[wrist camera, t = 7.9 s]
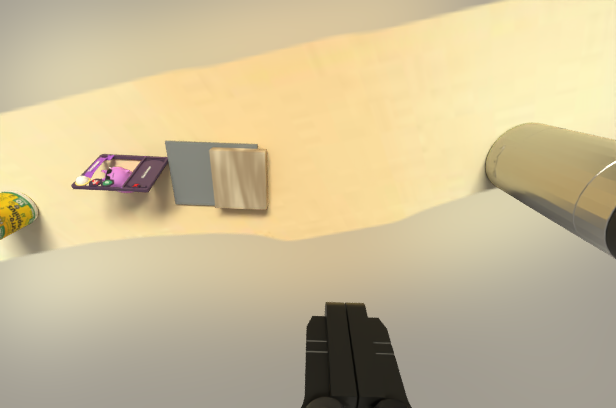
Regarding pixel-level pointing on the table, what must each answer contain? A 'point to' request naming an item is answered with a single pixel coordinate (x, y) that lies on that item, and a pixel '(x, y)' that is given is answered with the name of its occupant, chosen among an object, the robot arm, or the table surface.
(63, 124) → the table surface
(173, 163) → the felt mat
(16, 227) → the supplement bottle
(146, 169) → the purple toy case
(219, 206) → the tile
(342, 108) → the table surface
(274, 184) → the table surface
